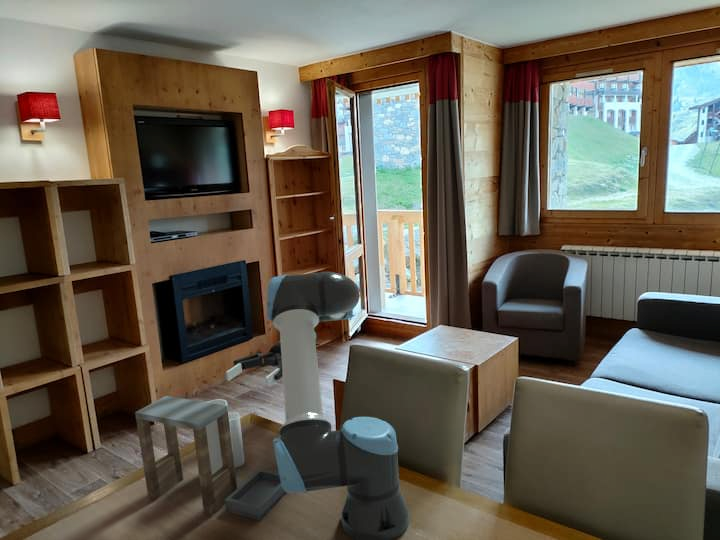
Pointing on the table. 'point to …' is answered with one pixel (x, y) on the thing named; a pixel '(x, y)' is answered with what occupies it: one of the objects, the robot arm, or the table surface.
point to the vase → (215, 443)
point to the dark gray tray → (256, 495)
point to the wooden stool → (196, 418)
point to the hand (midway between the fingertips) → (246, 379)
